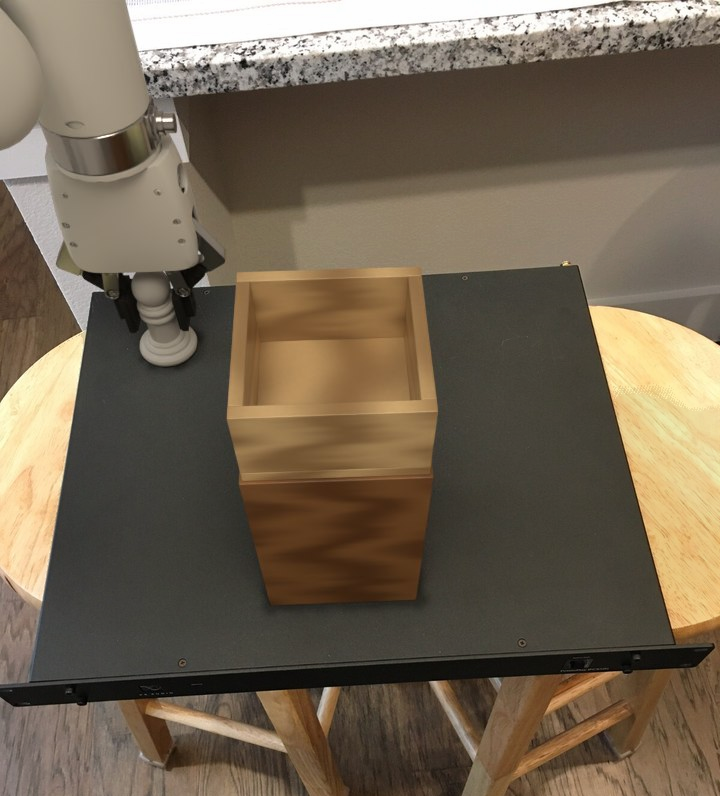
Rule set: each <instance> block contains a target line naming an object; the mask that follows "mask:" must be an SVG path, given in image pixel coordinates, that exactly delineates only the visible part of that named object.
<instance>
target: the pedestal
mask: <svg viewBox="0 0 720 796" xmlns="http://www.w3.org/2000/svg"><path fill="white" fill-rule="evenodd" d="M434 477H435V476H434V469H433V461H432V462H431V468H430V474H422V475H394V476H367V477H339V478H312V479H284V480H256V481H242V478H241V474H240V470H239V472H238V487H239V490H240V495H241V499H242V502H243V506H244V511H245V514H246V518H247V522H248V526H249V529H250V533H251V536H252V541H253V545H254V549H255V552H256V556H257V560H258V564H259V567H260V568H259V569H260V572H261V576H262V579H263V583H264V587H265V591H266V594H267V598H268V602H269V605H270V606H289V605H292V606H293V605H316V604H318V605H319V604H341V603H342V604H343V603H367V602H368V603H370V602H371V603H372V602H390V601H391V602H394V601H415V600H417V595H418V589H419V581H420V575H421V570H422V569H421V567H422V561H423V553H424V547H425V541H426V533H427V527H428V521H429V520H428V519H429V513H430V504H431V499H432V490H433V485H434Z"/></svg>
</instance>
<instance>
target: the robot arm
mask: <svg viewBox="0 0 720 796" xmlns="http://www.w3.org/2000/svg"><path fill="white" fill-rule="evenodd" d="M37 123H39V125H40V128H41V131H42V133H43V136H44V139H45V141H46V143H47V144H46V147H45V154H44V163H45V168H46V169H45V170H46V175H47V181H48V186H49V191H50V195H51V200H52V204H53V208H54V212H55V216H56V220H57V222H58V226H59V229H60V232H61V235H62V238H63V239H62V242H61V245H60V248H59V250H58V252H57V256H56V260H55V266H56V267H57V268H58V269H59V270H62V271H63V272H67V273H68V274H69V273H70V274H73V275H75V276H77V277H79V276H80V277H82V278H83V280H84V281H86V282H88V283H90V284H91V285H93V286H94V287H96V288H98V289H100V290H102V291H103V292H104V295H105V297H106V298H108V299H109V300H112V301H113V303H114V306H115V308H116V311H117V314H118V316H119V319H120V320H124V321H125V324H126V326H127V328H128V332H129V333H130V334H136V333H137V332H139V331H140V325H141V320H142V319H141V317H140V315H139V311H138V309H137V299H136V298H135V297H134V295H133V292H132V288H131V282H132V278H131V277H130V274H129V273H136V272H161V271H163V272H164V273H165V274H166V275H167V277H168V279H169V281H170V285H171V287H172V292H171V293H172V304H173V307H174V311H175V314H176V318H177V322H178V324H179V328H180V330H182V331H189V326H190V324H191V318H195V317H196V316H197V302H196V298H195V294H194V290H193V288H194V287H195V286H196V285H197V284H199V282H200V281H202V279H204V277H205V276H206V274H207V273H210V272H212V271H214V270H216V269H217V268H219V267H221V266H223V265H224V264H225V263H226V259H227V258H226V256H227V249H226V248H225V247H224V245H222V244H221V243H220V242H219V241H218V239H216V237H214V236H213V235H212V234H211V232H210V231H208V230H207V229H206V227H204V226H203V224H202V220H201V219H202V218H201V215H200V211H199V207H198V204H197V200H196V197H195V194H194V191H193V188H192V184H191V181H190V178H189V176H188V172H187V170H186V167H185V165H184V161H183V159H182V157H181V155H180V152H179V149H178V148H177V145H176V143H175V142H174V140H173V138H172V136H171V134H177V132H178V122H177V116H176V113H175V112H174V111H167V112H165V111H164V110H163V109H161V110H159V109H158V106H157V105H155V103H154V98H153V95H152V94H150V93H149V89H148V85H147V82H146V77H145V74H144V69H143V66H142V61H141V57H140V53H139V49H138V45H137V41H136V36H135V32H134V28H133V25H132V20H131V17H130V11H129V9H128V4H127V0H0V152H1V151H4V150H7V149H10V148H13V146H15V145H17V144H20V143H21V142H22V141H23V140H24V139H25V138H26V137H27V136H28V135H29V134H31V132H32V130H33V129H34V127H35V126H36V124H37ZM127 273H128V274H127Z"/></svg>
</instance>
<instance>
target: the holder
mask: <svg viewBox="0 0 720 796" xmlns="http://www.w3.org/2000/svg"><path fill="white" fill-rule="evenodd" d="M233 307H234V308H233V321H232V335H231V336H232V337H231V347H230V348H231V349H230V364H229V379H228V380H229V382H228V393H227V394H228V395H227V406H226V422H227V426H228V431H229V433H230V438H231V442H232V446H233V450H234V453H235V458H236V462H237V466H238V469H239V470H240V474H241V478H242V481H256V480H284V479H312V478H339V477H367V476H394V475H422V474H430V468H431V462H432V463H433V454H434V446H435V445H434V444H435V439H436V431H437V425H438V417H439V405H438V400H437V399H438V397H437V390H436V380H435V373H434V366H433V365H434V364H433V357H432V348H431V340H430V332H429V323H428V316H427V308H426V299H425V291H424V283H423V276H422V268H421V266H396V267H395V266H394V267H364V268H363V267H361V268H331V269H330V268H329V269H302V270H301V269H299V270H298V269H297V270H295V269H294V270H266V271H237V272H236V278H235V293H234V305H233Z"/></svg>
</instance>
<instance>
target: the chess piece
mask: <svg viewBox="0 0 720 796" xmlns="http://www.w3.org/2000/svg"><path fill="white" fill-rule="evenodd" d="M131 279H132V282H131V288H132V292H133V295H134V297H135V298H136V299H137V309H138V311H139V315H140V317H141V320H142V321H143V322H144V323H146V326H147V329H146V331H144V333H143V334H142V336H141V337H140V340H139V351H140V354H141V356H142V357H143V358H144V359H145V361H147V362H149V364H152V365H154V366H158V367H172V366H173V367H174V366H177V365H180V364H182V363H184V362H186V361H187V360H189V359H190V358H191V357H192V356H193V355H194V354H195V352H196V350H197V347H198V336H197V334H196V331H194V329H193V328H192V327H191V326H190V325H189V331H182V330H180V328H179V324H178V321H177V318H176V314H175V311H174V307H173V304H172V292H171V290H172V284H171V283H170V281H169V279H168V277H167V275H166V273H165V271H161V272H134V274H133V276H132V278H131Z"/></svg>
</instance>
